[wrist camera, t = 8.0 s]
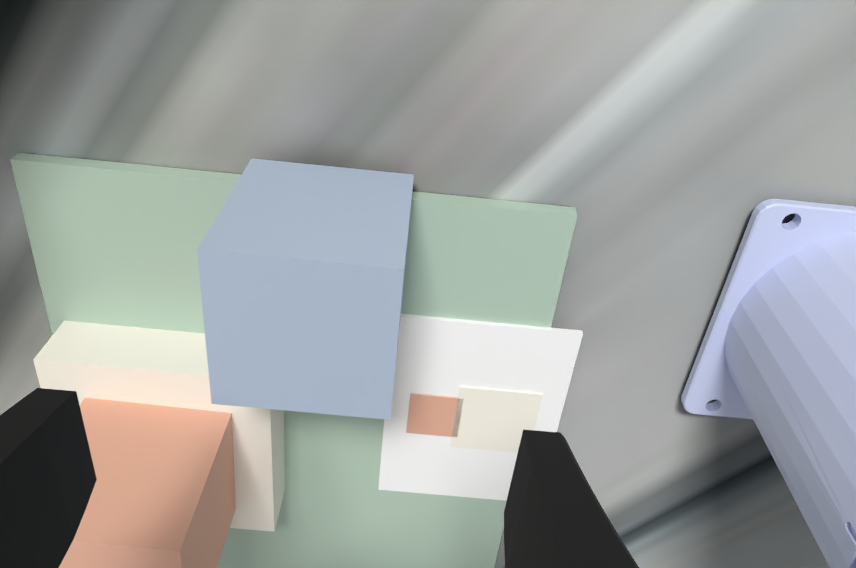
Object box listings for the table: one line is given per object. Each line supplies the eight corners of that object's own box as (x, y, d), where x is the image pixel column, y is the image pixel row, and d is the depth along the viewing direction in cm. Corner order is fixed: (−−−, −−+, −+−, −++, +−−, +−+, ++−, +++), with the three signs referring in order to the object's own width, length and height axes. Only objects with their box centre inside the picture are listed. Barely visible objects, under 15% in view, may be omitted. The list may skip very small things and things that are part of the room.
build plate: (574, 207, 21) (577, 215, 20) (472, 647, 33) (473, 657, 33) (18, 152, 20) (9, 159, 20) (127, 619, 33) (123, 630, 32)
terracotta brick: (235, 508, 24) (190, 650, 20) (103, 495, 24) (30, 635, 20) (231, 413, 22) (180, 551, 18) (84, 397, 22) (-3, 533, 18)
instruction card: (582, 330, 22) (583, 334, 22) (537, 499, 27) (537, 504, 26) (393, 312, 22) (392, 317, 22) (378, 486, 26) (378, 490, 26)
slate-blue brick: (414, 174, 20) (404, 268, 15) (402, 307, 22) (390, 419, 18) (251, 158, 19) (196, 248, 15) (257, 293, 22) (211, 404, 18)
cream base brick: (282, 340, 23) (269, 380, 21) (285, 487, 27) (274, 531, 25) (64, 320, 23) (32, 360, 21) (98, 471, 26) (74, 515, 25)
